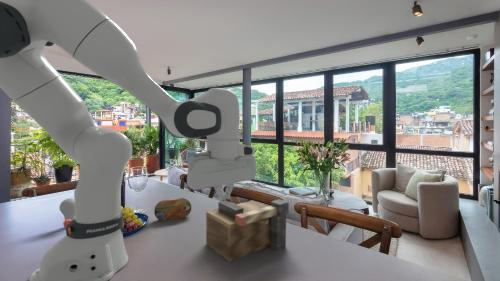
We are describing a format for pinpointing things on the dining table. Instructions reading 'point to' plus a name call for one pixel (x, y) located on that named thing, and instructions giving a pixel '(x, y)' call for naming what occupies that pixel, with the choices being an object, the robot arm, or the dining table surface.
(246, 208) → the lid
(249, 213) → the light wooden bar
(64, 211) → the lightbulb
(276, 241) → the toolbox
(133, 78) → the robot arm
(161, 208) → the tin
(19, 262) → the dining table surface
